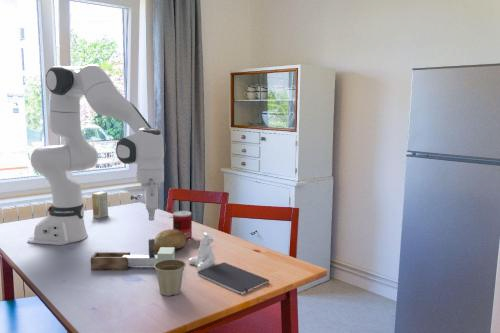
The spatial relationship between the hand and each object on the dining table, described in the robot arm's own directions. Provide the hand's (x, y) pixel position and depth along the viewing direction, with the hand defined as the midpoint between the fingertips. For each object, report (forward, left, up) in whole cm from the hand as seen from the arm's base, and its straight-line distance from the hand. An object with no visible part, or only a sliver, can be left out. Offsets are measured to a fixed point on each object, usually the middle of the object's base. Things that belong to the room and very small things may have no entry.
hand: (150, 216), depth 146 cm
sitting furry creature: (+18, +2, -19) cm, 26 cm away
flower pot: (+9, -19, -19) cm, 28 cm away
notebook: (+28, -10, -19) cm, 35 cm away
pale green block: (+5, 0, -18) cm, 19 cm away
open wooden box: (-14, 0, -18) cm, 23 cm away
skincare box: (-37, +65, -19) cm, 77 cm away
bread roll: (+4, +18, -19) cm, 26 cm away
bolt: (-2, 0, -17) cm, 18 cm away
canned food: (+7, +32, -19) cm, 38 cm away
